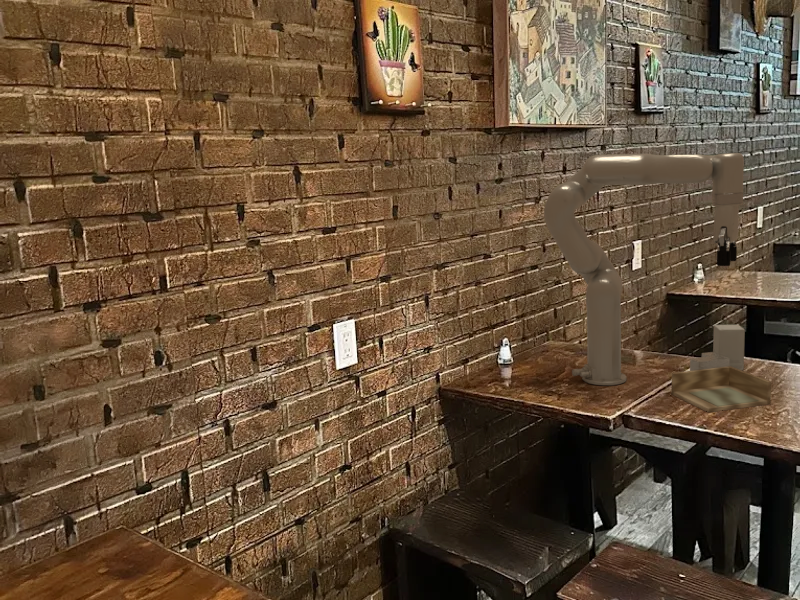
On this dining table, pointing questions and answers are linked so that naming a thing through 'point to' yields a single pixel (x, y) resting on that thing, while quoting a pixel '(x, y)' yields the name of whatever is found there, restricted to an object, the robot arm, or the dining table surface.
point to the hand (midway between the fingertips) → (726, 263)
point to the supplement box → (730, 344)
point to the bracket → (709, 361)
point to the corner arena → (721, 388)
